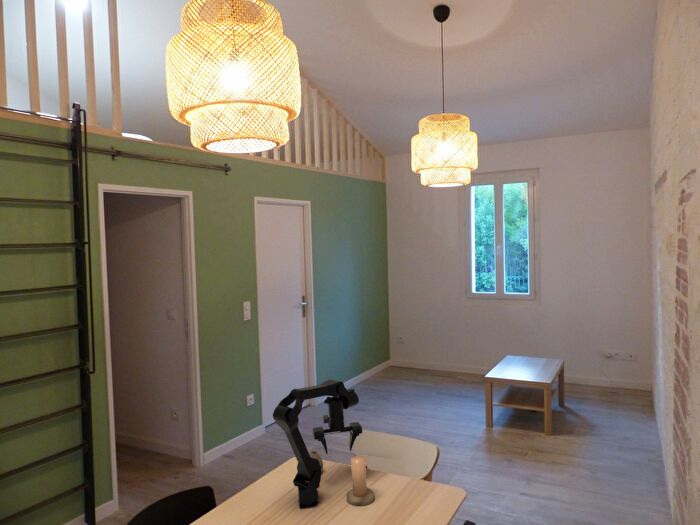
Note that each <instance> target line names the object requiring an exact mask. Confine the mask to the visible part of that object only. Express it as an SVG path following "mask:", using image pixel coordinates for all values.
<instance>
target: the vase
mask: <svg viewBox="0 0 700 525" xmlns="http://www.w3.org/2000/svg"><path fill="white" fill-rule="evenodd" d="M309 455H310V457H312V458H315V459H318V461H319V464H320V466H321V467H322V469H321V471H322V472H323V468H324V462H323V458H322V457H321V455H320V454H319V453H318V451H317V450H313V451H312V450H311V452H310V453H309Z"/></svg>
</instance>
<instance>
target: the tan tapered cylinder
mask: <svg viewBox="0 0 700 525" xmlns="http://www.w3.org/2000/svg"><path fill="white" fill-rule="evenodd" d="M366 465H367V464H366V458H365V456H362V455H355V456H353V457H351V458H350V467H351V468H350V469H351V486H352V489H353V496H355V497H364V496H366V495H367V488H368V483H367V468H366Z"/></svg>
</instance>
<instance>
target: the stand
mask: <svg viewBox="0 0 700 525" xmlns="http://www.w3.org/2000/svg"><path fill="white" fill-rule="evenodd" d="M374 501H375V492H374V491H373V490H372V489H371V488H368V487H367V495H366V496H364V497H355V496H353V488H352V489H349V490H348V491H347V492H346V503H347V504H349V505H350V506H353V507H365V506H368V505H371V504H372V503H373V502H374Z"/></svg>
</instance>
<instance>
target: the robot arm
mask: <svg viewBox="0 0 700 525" xmlns="http://www.w3.org/2000/svg"><path fill="white" fill-rule="evenodd" d="M326 396H327V397H326ZM322 397H326V398H325V400H324V401H323V404H326V405H328V406H327V407H328V414H325V415H322V419H323V421H322V422H323V424H327V425H328V428H326V429H324V427H323V426H319V427H318V426H316V427H313V429H312V431H311V432H312V437H313V439H314V440H317V442H320V443H321V445H322V446H323V449H324V451H325V454H326V455H328V446H327V441H326V440H327V439H326V438H325V436H326V435H332V434H339V433H347V432H348V433H349V437H348V438H349V440H348V442H349V443H348V448H349V452H352V449H353V447H354V444H355V441H356V439H357V437H358V436H360V434H363V426H362V424H360V422H359V421H355V422H349V425H348V426H347V425H346V426H345V414H344V413H345V412H344V410H348V409H350V408H353V407H355V406H357V405H358V404H359V402H360V398H359V397H358V394H357V393H356V391H355V389H354V388H349V389H347V387H345V384H344V381H340V380H335V379H332V378H331V379H330V378H329V379H327V380H325V381H322V383H320V384H317V385H310V386H306V387H300V388H293V389H292V390H291V391H290V392H289V394H288V395H286V396H285V397H284V398H282V399H281V400H280V402H279V403H278V405H277V406H276V407H275V408H274V410H273V413H272V418H273V420H274V421H275V423H276V424H277V426H278V427H280V428H281V429H282V431H284V433H285V436H286V438H287V440H288V443H289V444H290V446H291V449H292V452H293V454H294V456H295V458H296V461H297V465H296V471H297V473H296V475H295V476H294V479H293V480H292V483H293V486H294V487H297V495H298V496H297V497H298V499H297V503H298V506H299V509H300V510H301V509H308V508H314V507H318V505H319V504H318V502H319V494H318V492H319V491H318V489H319V488H320V485H321V479H322V474H323V469H322V467H321V466H320V464H319V461H318V459H315V458H312V457H310V453H309V451H308V448H307V445H306V442H305V440H304V438H303V436H302V434H301V431H300V429H299V427H298V425H299V422H300V420H299V415H300V414H301V412H302V410H303V403H304V402H305V401H306V400H307V401H308V400H310V399H316V398H322ZM294 402H295V403H294ZM293 403H294V404H295V405H294V406H293V407H290V405H292V404H293ZM321 469H322V471H321Z"/></svg>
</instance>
